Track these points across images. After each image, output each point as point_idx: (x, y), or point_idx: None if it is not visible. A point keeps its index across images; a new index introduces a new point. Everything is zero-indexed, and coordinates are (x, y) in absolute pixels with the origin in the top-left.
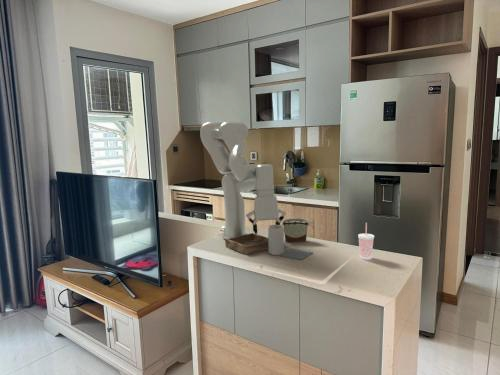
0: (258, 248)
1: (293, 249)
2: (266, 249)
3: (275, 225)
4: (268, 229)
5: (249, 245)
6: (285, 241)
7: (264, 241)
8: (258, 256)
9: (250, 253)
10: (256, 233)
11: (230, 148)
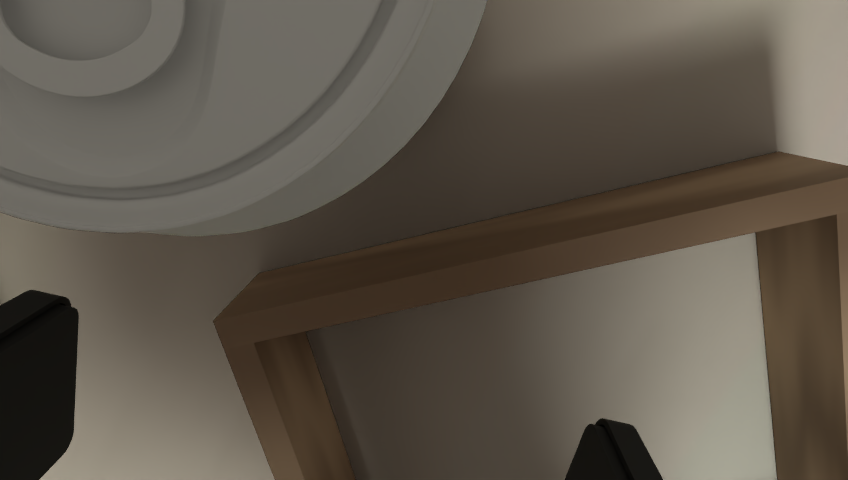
0: (561, 217)
1: None
2: (406, 239)
3: (15, 104)
4: (479, 12)
5: (773, 220)
6: None
7: (330, 462)
8: (661, 3)
9: (705, 169)
10: (615, 421)
11: None
